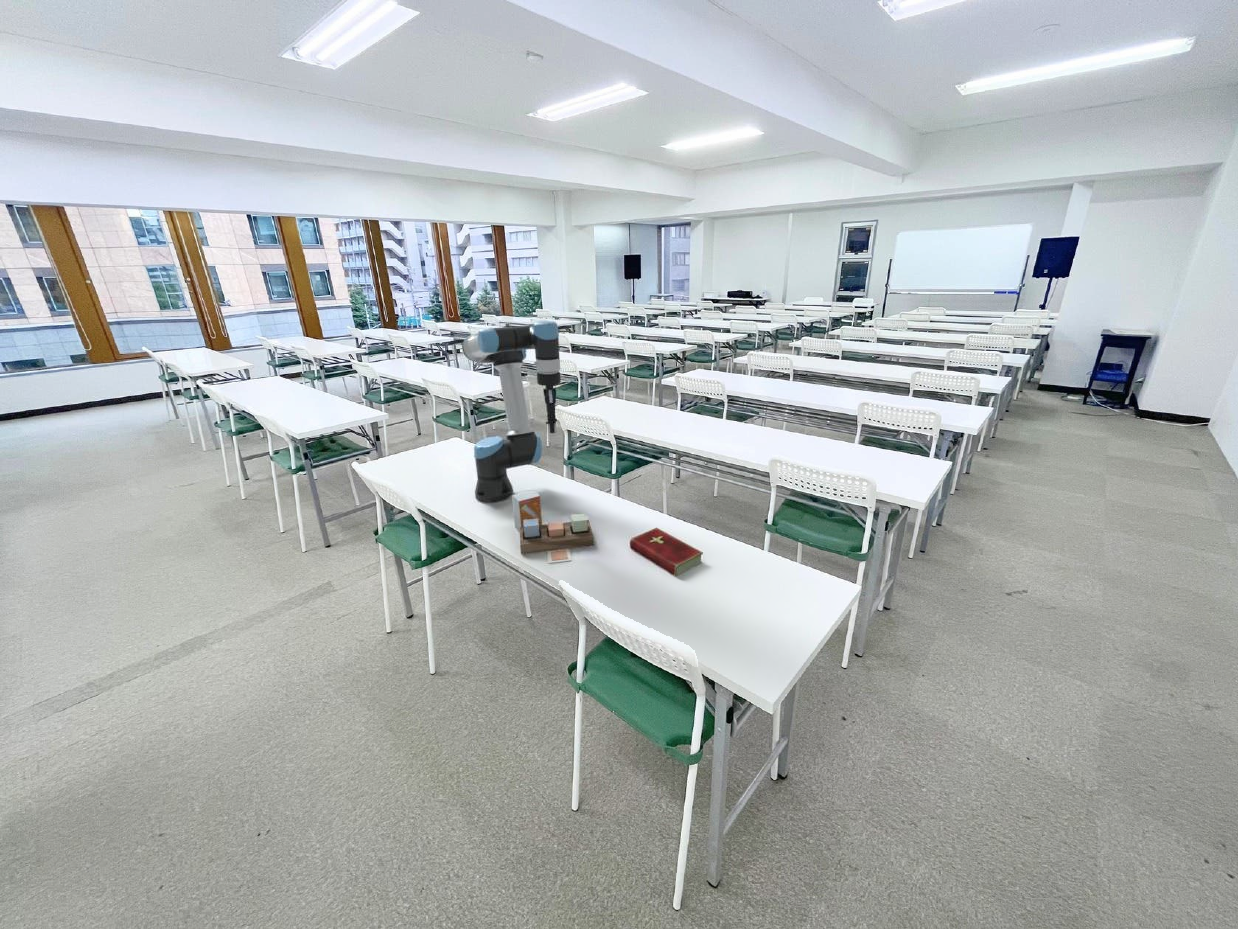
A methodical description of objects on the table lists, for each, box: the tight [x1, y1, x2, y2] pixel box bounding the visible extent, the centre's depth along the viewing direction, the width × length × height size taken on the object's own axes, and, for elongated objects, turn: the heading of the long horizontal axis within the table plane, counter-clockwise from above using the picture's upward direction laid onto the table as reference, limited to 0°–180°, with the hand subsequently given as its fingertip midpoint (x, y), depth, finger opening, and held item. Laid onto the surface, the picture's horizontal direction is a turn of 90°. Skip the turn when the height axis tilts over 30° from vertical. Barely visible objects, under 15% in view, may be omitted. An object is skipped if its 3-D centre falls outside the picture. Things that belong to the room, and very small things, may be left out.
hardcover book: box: [629, 527, 704, 577], centre depth 158 cm, size 12×21×4 cm, turn 39°
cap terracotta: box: [547, 521, 564, 537], centre depth 167 cm, size 5×5×5 cm
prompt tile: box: [546, 549, 572, 564], centre depth 159 cm, size 7×7×1 cm
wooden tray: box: [519, 519, 595, 555], centre depth 167 cm, size 12×24×4 cm, turn 101°
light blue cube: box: [523, 518, 539, 537], centre depth 165 cm, size 5×5×5 cm
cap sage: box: [570, 513, 588, 532], centre depth 167 cm, size 5×5×5 cm
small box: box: [511, 489, 543, 533], centre depth 174 cm, size 8×6×13 cm
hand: (552, 440), depth 168 cm, fingers closed
